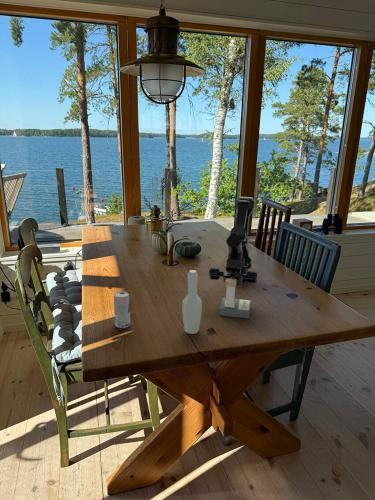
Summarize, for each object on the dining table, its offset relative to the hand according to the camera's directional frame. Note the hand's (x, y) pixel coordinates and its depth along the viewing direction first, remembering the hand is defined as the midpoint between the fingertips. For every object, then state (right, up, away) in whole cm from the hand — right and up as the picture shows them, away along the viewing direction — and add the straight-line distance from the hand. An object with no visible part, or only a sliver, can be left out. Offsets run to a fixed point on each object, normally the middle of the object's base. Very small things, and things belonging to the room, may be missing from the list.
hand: (230, 295), depth 138 cm
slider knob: (0, -4, -1) cm, 4 cm away
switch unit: (+2, -6, +2) cm, 7 cm away
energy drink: (-40, -10, -10) cm, 42 cm away
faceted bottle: (-15, -11, -13) cm, 23 cm away
